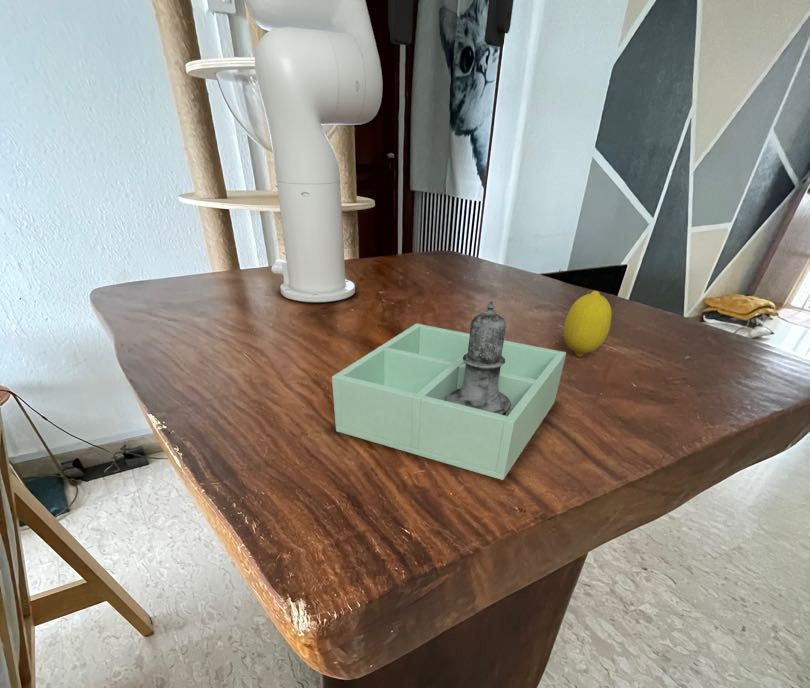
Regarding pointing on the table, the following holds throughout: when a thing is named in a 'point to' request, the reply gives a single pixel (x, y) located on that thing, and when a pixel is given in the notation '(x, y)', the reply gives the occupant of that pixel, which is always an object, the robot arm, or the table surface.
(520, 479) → the table surface
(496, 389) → the salt shaker
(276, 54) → the robot arm
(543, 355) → the box
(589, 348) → the lemon
